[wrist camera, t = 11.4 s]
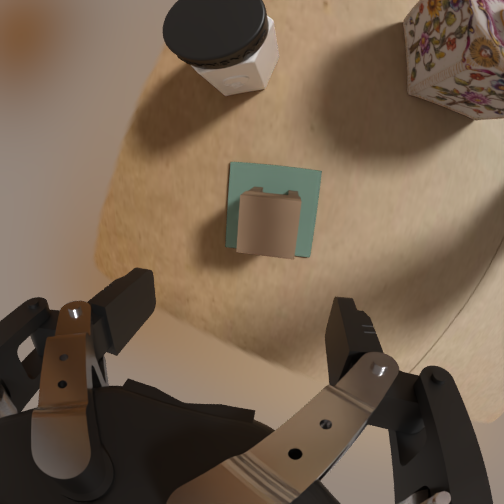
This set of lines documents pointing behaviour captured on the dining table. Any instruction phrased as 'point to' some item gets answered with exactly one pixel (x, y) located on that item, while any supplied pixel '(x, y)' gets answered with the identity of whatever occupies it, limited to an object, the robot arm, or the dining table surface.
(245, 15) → the jar
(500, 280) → the dining table surface
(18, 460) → the robot arm
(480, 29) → the decorative jar
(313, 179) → the mat
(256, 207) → the pronged tan cube
